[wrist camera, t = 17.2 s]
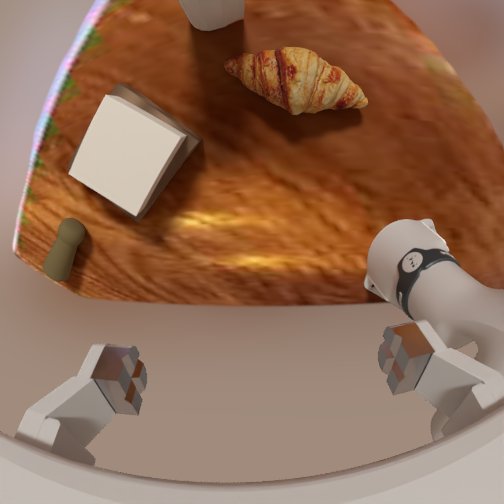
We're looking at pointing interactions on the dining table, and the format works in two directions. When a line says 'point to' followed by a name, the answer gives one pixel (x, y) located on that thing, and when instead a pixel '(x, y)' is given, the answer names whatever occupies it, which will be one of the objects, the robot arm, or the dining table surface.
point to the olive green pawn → (64, 250)
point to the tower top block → (125, 153)
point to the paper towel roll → (212, 12)
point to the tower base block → (153, 109)
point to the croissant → (296, 80)
